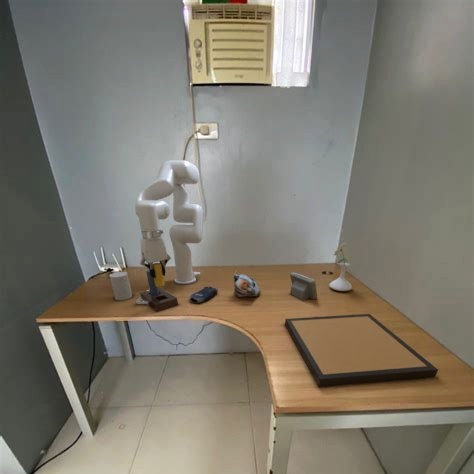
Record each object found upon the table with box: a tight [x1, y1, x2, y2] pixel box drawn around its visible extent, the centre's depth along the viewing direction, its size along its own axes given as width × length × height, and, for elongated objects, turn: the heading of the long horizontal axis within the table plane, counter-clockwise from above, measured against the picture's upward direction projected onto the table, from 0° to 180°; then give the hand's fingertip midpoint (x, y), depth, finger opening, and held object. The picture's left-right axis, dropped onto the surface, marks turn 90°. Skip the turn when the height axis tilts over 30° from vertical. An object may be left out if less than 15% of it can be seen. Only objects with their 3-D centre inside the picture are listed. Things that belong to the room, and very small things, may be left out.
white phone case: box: [136, 289, 150, 305], centre depth 128 cm, size 7×1×15 cm
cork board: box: [284, 313, 439, 388], centre depth 88 cm, size 36×3×35 cm
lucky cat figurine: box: [233, 272, 262, 298], centre depth 127 cm, size 15×12×14 cm
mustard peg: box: [153, 262, 165, 288], centre depth 115 cm, size 4×4×10 cm
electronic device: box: [189, 286, 219, 303], centre depth 127 cm, size 9×6×15 cm
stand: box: [139, 287, 179, 312], centre depth 123 cm, size 11×18×4 cm, turn 40°
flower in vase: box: [329, 242, 353, 292], centre depth 130 cm, size 13×11×25 cm
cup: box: [109, 271, 133, 301], centre depth 127 cm, size 8×8×12 cm
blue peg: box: [145, 269, 159, 296], centre depth 123 cm, size 4×4×15 cm
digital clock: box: [289, 272, 318, 301], centre depth 127 cm, size 16×9×11 cm, turn 20°
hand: (158, 275), depth 115 cm, fingers closed on mustard peg, 4 cm apart
